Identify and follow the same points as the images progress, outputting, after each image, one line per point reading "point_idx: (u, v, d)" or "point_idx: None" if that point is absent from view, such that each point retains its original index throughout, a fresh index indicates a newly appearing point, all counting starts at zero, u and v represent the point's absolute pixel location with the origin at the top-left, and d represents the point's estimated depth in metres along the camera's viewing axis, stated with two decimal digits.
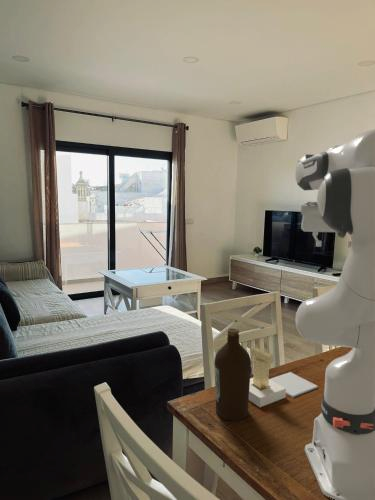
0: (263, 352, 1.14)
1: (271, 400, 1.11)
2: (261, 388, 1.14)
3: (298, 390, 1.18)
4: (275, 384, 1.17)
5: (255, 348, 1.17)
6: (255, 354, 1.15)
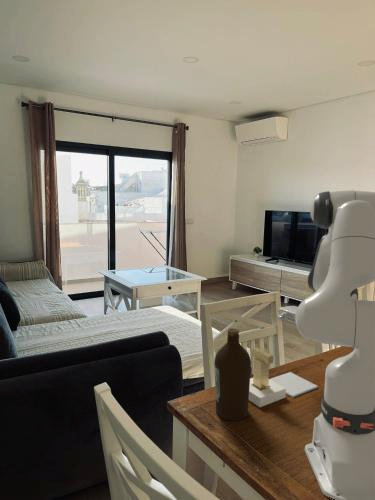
0: (263, 352, 1.14)
1: (271, 400, 1.11)
2: (261, 388, 1.14)
3: (298, 390, 1.18)
4: (275, 384, 1.17)
5: (255, 348, 1.17)
6: (255, 353, 1.15)
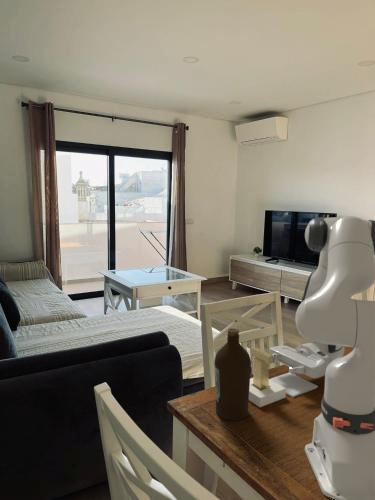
0: (263, 352, 1.14)
1: (271, 400, 1.11)
2: (261, 388, 1.14)
3: (298, 390, 1.18)
4: (275, 384, 1.17)
5: (255, 348, 1.17)
6: (255, 353, 1.15)
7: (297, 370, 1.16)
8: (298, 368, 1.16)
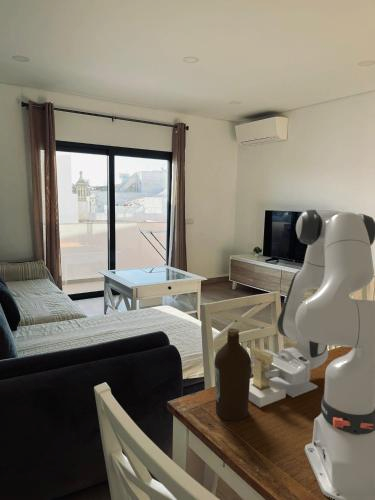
0: (263, 352, 1.14)
1: (271, 400, 1.11)
2: (261, 388, 1.14)
3: (298, 390, 1.18)
4: (275, 384, 1.17)
5: (255, 348, 1.17)
6: (256, 353, 1.15)
7: (272, 374, 1.13)
8: (272, 371, 1.13)
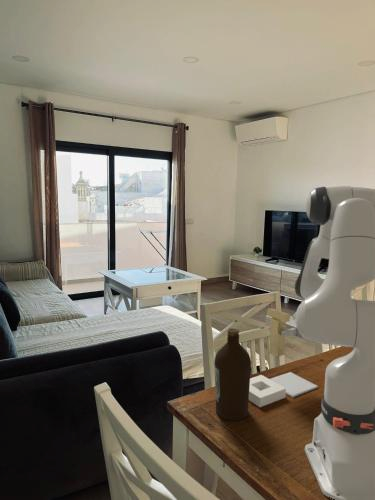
0: (280, 311, 1.16)
1: (271, 400, 1.11)
2: (278, 347, 1.16)
3: (298, 390, 1.18)
4: (275, 384, 1.17)
5: (271, 308, 1.19)
6: (272, 313, 1.17)
7: (288, 332, 1.15)
8: (289, 330, 1.15)
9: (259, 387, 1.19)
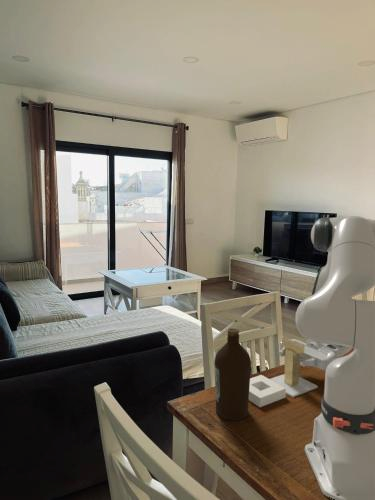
0: (294, 343, 1.20)
1: (271, 400, 1.11)
2: (292, 377, 1.20)
3: (298, 390, 1.18)
4: (275, 384, 1.17)
5: (286, 339, 1.23)
6: (287, 344, 1.22)
7: (308, 363, 1.17)
8: (309, 361, 1.17)
9: (259, 387, 1.19)
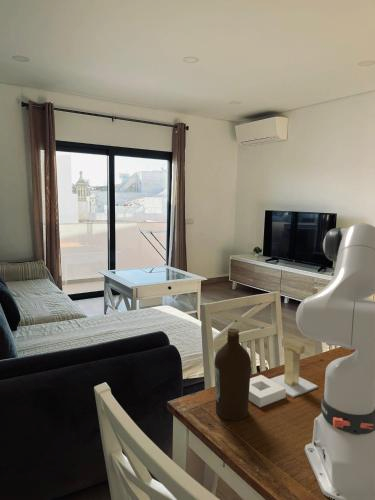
0: (294, 343, 1.20)
1: (271, 400, 1.11)
2: (292, 377, 1.20)
3: (298, 390, 1.18)
4: (275, 384, 1.17)
5: (286, 339, 1.23)
6: (287, 344, 1.22)
7: None
8: None
9: (259, 387, 1.19)
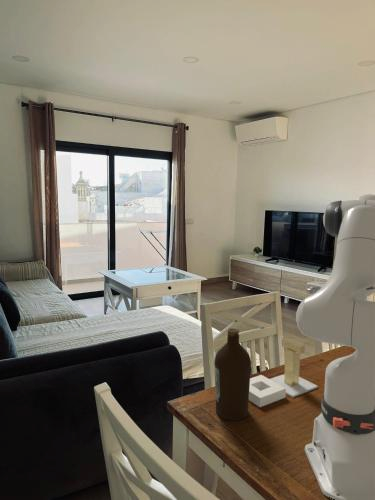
0: (294, 343, 1.20)
1: (271, 400, 1.11)
2: (292, 377, 1.20)
3: (298, 390, 1.18)
4: (275, 384, 1.17)
5: (286, 339, 1.23)
6: (287, 344, 1.22)
7: None
8: None
9: (259, 387, 1.19)
